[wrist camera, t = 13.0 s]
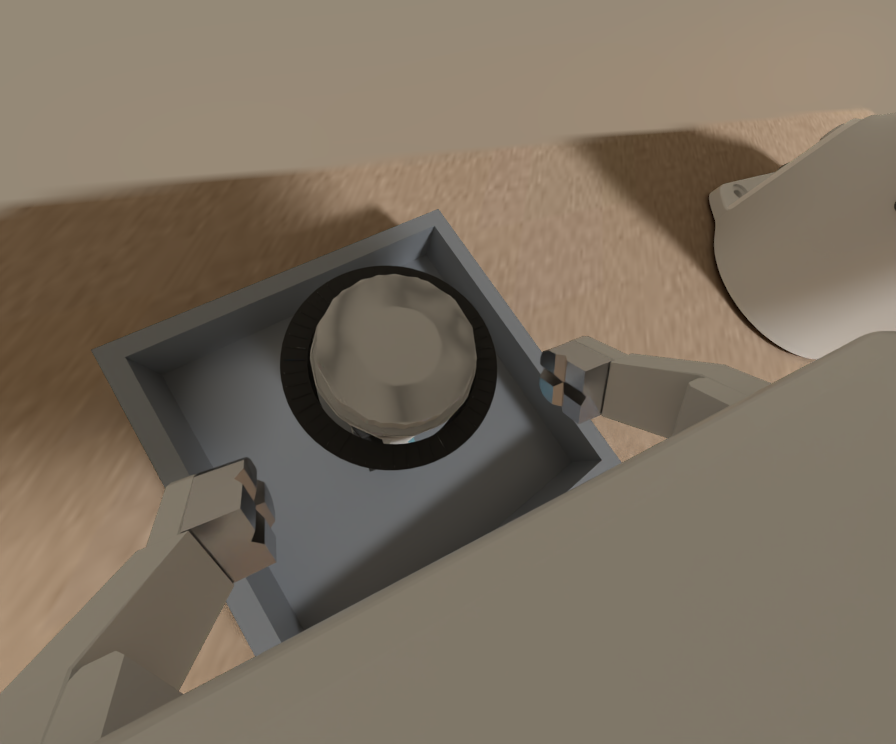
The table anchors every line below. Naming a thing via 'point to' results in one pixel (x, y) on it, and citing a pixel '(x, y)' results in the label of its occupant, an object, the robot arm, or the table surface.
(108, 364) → the dock tray
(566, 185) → the table surface
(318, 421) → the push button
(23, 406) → the table surface
